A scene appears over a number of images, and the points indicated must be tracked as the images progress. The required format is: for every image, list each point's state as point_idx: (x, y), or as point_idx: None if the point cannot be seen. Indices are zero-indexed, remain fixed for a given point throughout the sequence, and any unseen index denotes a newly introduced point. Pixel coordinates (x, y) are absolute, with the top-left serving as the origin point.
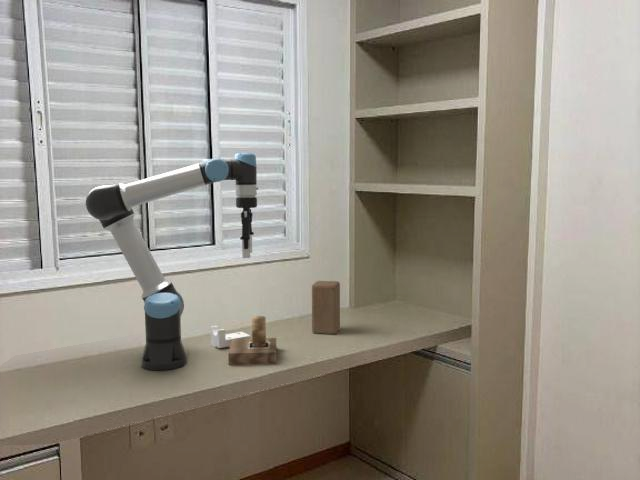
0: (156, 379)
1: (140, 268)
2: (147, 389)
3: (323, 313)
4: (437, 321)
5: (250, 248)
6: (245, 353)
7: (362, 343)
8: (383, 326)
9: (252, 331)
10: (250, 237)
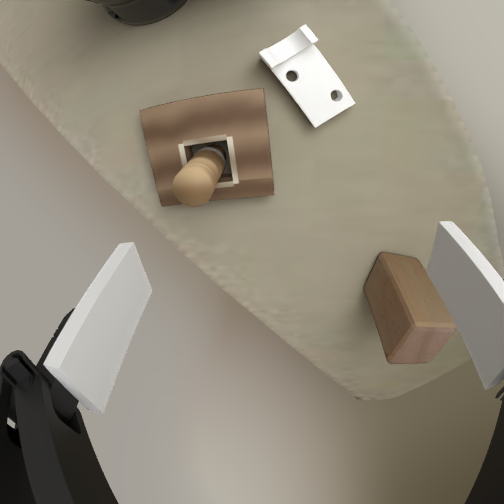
0: (71, 22)
1: None
2: (37, 38)
3: (382, 297)
4: (390, 383)
5: (444, 285)
6: (147, 146)
7: (302, 321)
8: None
9: (190, 160)
10: (484, 364)
